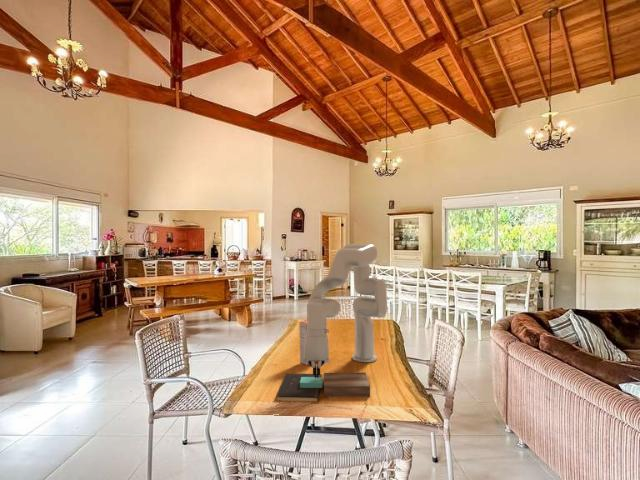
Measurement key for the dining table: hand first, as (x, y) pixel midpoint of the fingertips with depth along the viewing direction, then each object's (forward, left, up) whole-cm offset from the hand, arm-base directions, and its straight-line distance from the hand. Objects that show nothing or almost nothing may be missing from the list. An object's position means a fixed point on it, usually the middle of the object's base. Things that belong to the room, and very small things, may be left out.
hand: (316, 376), depth 145 cm
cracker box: (-33, -2, -5) cm, 33 cm away
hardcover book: (-1, -7, -6) cm, 9 cm away
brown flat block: (0, +12, -5) cm, 13 cm away
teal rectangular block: (0, -2, -4) cm, 4 cm away
